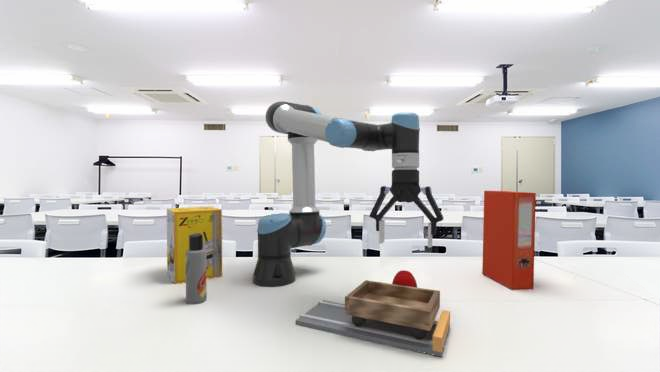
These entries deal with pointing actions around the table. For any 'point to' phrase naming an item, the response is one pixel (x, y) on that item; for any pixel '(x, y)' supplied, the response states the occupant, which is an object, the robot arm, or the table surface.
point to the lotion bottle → (196, 270)
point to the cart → (394, 305)
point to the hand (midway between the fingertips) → (405, 244)
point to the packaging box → (178, 232)
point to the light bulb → (404, 279)
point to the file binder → (509, 238)
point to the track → (376, 328)
